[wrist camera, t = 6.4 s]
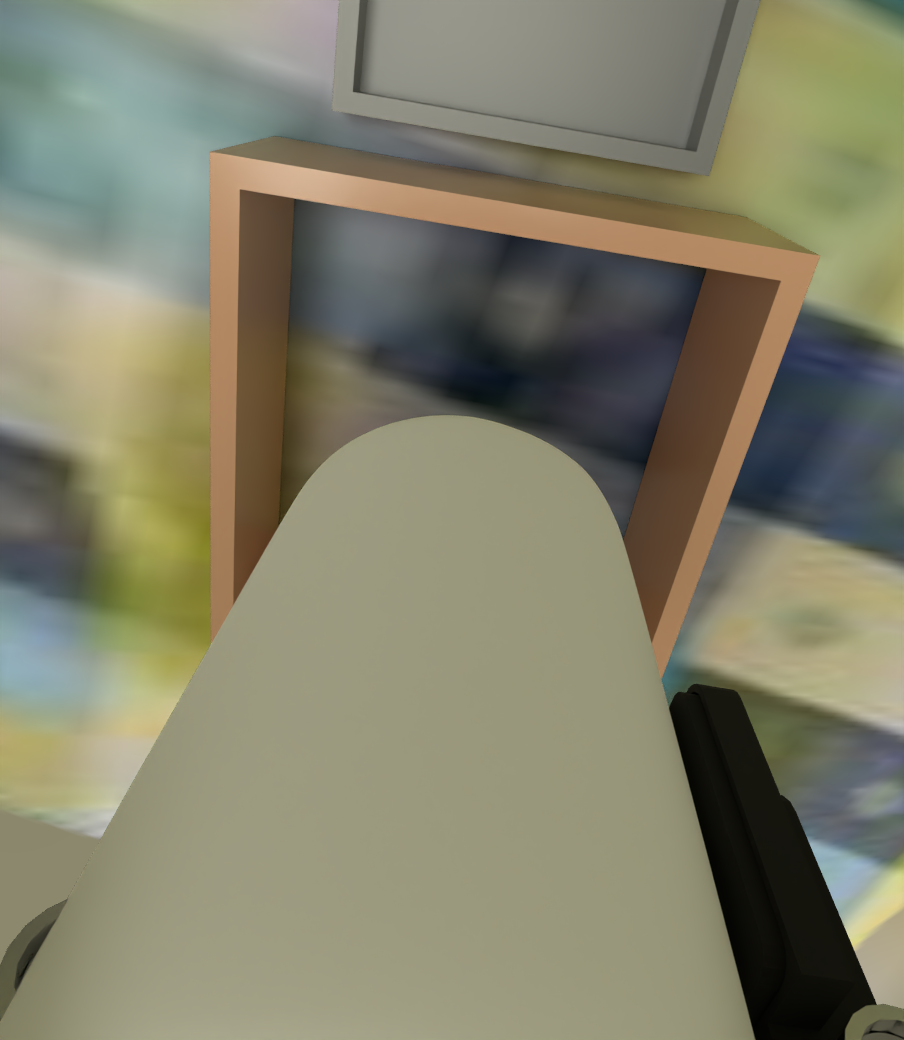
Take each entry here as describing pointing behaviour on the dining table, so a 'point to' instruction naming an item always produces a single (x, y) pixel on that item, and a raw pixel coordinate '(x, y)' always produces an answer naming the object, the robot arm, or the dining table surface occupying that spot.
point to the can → (409, 786)
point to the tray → (551, 72)
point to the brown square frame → (520, 212)
